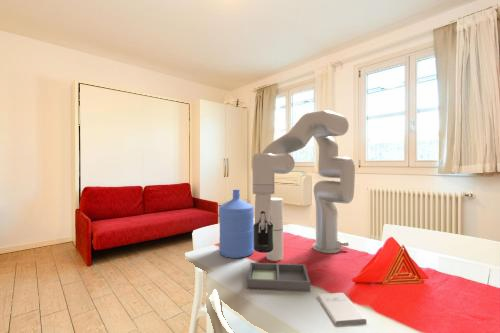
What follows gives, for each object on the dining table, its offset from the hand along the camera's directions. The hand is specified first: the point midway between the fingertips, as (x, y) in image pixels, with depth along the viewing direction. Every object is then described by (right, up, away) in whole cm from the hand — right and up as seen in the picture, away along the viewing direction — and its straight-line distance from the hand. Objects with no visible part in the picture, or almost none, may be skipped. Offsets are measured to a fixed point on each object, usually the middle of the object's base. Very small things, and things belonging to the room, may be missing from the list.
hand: (263, 240), depth 85 cm
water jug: (-11, -13, +26) cm, 31 cm away
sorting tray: (+5, -14, 0) cm, 15 cm away
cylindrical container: (+6, -13, +20) cm, 24 cm away
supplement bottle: (0, -3, 0) cm, 3 cm away
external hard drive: (+20, -15, -16) cm, 30 cm away
